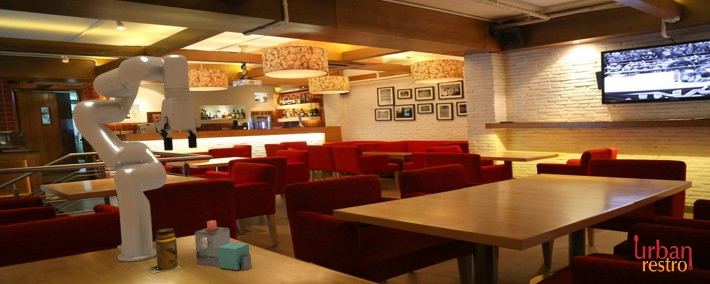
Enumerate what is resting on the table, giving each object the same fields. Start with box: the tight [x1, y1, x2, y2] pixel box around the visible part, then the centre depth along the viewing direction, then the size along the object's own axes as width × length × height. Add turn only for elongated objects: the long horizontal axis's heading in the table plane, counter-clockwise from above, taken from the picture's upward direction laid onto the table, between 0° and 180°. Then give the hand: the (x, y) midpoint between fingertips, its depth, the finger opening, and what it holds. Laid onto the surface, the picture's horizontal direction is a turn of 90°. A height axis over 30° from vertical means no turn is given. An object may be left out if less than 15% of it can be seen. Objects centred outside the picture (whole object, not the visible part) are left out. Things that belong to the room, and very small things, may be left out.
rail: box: [196, 249, 252, 271], centre depth 150 cm, size 19×3×4 cm, turn 62°
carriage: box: [218, 241, 250, 271], centre depth 148 cm, size 7×6×6 cm
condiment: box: [148, 227, 182, 274], centre depth 150 cm, size 7×8×12 cm
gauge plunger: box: [206, 219, 218, 232], centre depth 165 cm, size 3×3×5 cm
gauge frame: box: [194, 226, 231, 257], centre depth 165 cm, size 8×8×8 cm
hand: (181, 149), depth 152 cm, fingers open, 9 cm apart
